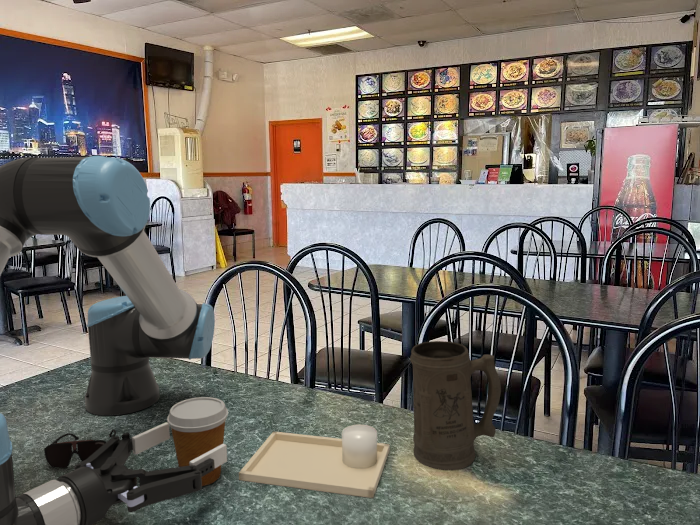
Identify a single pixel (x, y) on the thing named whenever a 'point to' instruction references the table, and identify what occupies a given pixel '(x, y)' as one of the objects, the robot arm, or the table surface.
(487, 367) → the beer stein
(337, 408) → the table surface
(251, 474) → the serving tray
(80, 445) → the sunglasses
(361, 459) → the white rounded cylinder
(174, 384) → the table surface
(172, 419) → the disposable coffee cup
